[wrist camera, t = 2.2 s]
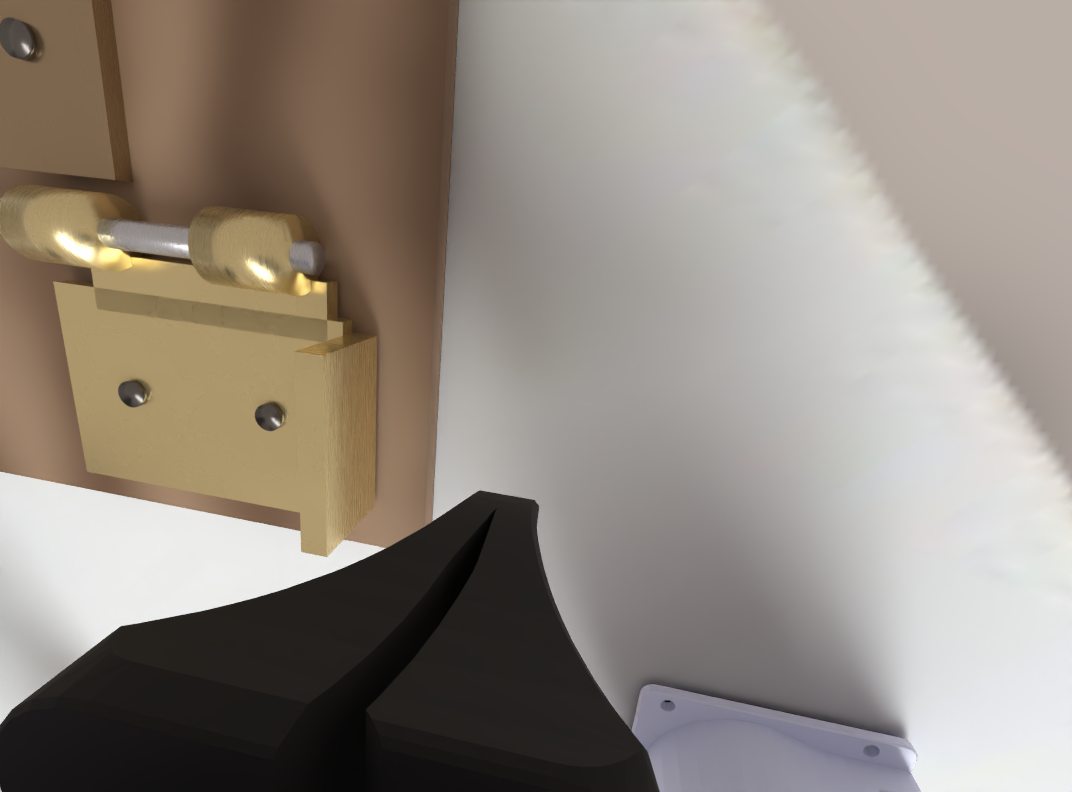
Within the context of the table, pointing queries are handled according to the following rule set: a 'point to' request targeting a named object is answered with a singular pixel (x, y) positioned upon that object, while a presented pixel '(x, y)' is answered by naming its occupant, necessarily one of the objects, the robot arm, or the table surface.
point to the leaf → (210, 355)
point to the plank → (271, 210)
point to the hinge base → (62, 90)
